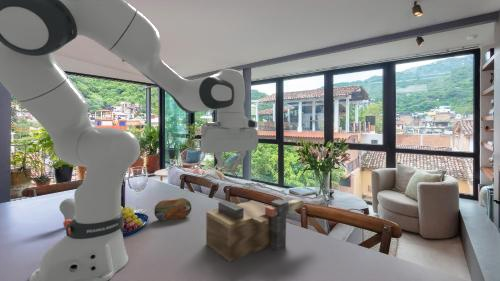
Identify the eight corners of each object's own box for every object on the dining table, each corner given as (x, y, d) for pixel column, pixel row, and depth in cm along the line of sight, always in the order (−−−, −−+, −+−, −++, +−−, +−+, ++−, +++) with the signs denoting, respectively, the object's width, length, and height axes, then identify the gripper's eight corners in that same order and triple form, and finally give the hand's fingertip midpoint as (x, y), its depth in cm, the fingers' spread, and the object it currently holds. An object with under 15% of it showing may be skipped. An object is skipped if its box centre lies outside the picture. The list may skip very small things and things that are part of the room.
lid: (237, 237, 70) (237, 218, 70) (206, 218, 84) (206, 202, 84) (287, 220, 83) (287, 204, 82) (252, 206, 97) (252, 192, 96)
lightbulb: (81, 226, 98) (80, 198, 97) (62, 231, 94) (61, 202, 93) (77, 222, 102) (76, 195, 101) (58, 226, 98) (57, 198, 97)
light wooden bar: (271, 216, 79) (271, 209, 78) (265, 214, 81) (265, 206, 81) (303, 207, 88) (303, 200, 88) (296, 205, 91) (297, 198, 90)
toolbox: (238, 268, 70) (239, 215, 69) (206, 243, 85) (206, 199, 84) (287, 247, 83) (288, 202, 82) (252, 228, 97) (252, 190, 96)
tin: (154, 222, 103) (154, 202, 102) (154, 219, 106) (153, 200, 105) (191, 217, 109) (191, 198, 108) (190, 214, 112) (190, 196, 111)
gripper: (206, 121, 71) (206, 170, 72) (261, 122, 84) (260, 163, 84) (196, 121, 76) (196, 167, 77) (249, 122, 88) (249, 161, 89)
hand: (230, 165), depth 81 cm, fingers open, 5 cm apart
